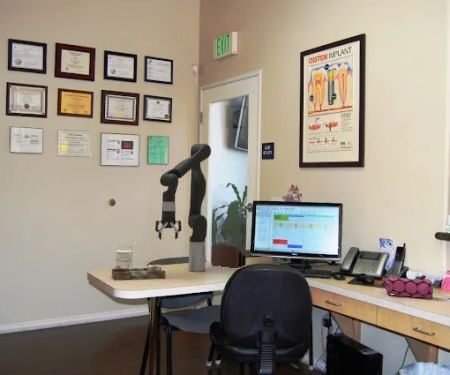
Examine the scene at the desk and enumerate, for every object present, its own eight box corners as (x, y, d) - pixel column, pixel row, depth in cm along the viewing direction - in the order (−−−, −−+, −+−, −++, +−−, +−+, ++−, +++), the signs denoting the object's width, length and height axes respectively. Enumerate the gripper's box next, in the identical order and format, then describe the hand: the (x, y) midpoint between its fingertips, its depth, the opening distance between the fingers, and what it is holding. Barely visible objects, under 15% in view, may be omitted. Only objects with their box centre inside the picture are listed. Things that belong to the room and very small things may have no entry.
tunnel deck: (160, 274, 275) (161, 267, 275) (165, 278, 264) (165, 271, 264) (111, 276, 267) (112, 268, 267) (114, 280, 255) (114, 272, 255)
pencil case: (385, 297, 232) (386, 276, 232) (384, 293, 242) (385, 272, 242) (434, 301, 226) (434, 279, 226) (431, 296, 236) (432, 276, 236)
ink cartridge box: (114, 271, 281) (115, 245, 281) (117, 270, 286) (118, 244, 286) (129, 272, 280) (130, 246, 280) (131, 270, 285) (132, 245, 285)
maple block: (158, 271, 272) (158, 264, 272) (160, 273, 266) (160, 266, 266) (147, 272, 270) (147, 265, 270) (149, 274, 264) (149, 266, 264)
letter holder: (237, 269, 299) (238, 246, 299) (210, 266, 309) (211, 244, 309) (245, 267, 307) (246, 245, 307) (219, 264, 318) (219, 242, 318)
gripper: (180, 209, 277) (179, 238, 277) (154, 209, 273) (154, 238, 273) (182, 210, 269) (182, 239, 269) (156, 210, 266) (156, 240, 266)
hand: (168, 239), depth 271 cm, fingers open, 8 cm apart
